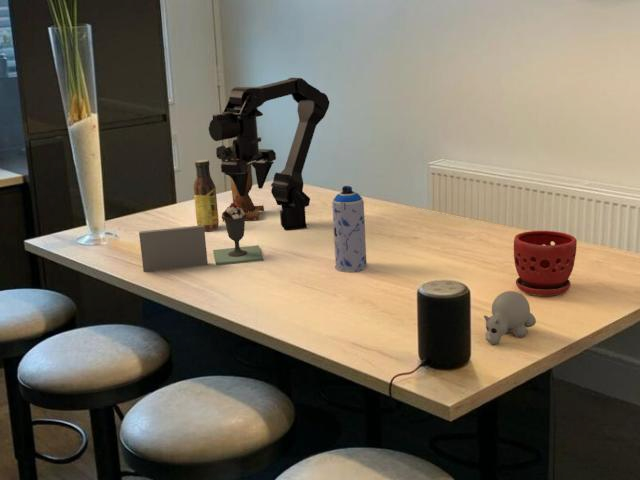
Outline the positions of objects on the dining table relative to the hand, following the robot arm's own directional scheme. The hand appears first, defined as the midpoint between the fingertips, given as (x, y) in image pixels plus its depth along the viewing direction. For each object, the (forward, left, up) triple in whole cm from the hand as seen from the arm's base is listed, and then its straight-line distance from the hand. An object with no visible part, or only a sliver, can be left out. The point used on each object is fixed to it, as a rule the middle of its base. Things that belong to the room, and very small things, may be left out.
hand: (251, 192), depth 255 cm
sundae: (+6, +15, -13) cm, 20 cm away
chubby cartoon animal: (-40, +87, -13) cm, 97 cm away
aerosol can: (-20, +34, -13) cm, 42 cm away
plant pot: (-57, +64, -13) cm, 87 cm away
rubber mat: (+6, +15, -13) cm, 21 cm away
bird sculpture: (+1, -25, -13) cm, 28 cm away
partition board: (+22, +19, -13) cm, 32 cm away
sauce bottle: (+12, -15, -13) cm, 23 cm away
